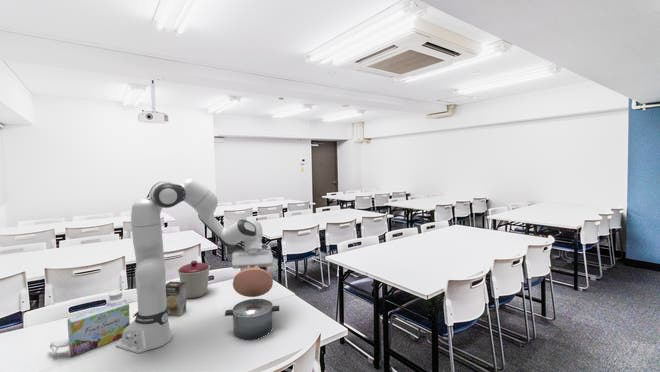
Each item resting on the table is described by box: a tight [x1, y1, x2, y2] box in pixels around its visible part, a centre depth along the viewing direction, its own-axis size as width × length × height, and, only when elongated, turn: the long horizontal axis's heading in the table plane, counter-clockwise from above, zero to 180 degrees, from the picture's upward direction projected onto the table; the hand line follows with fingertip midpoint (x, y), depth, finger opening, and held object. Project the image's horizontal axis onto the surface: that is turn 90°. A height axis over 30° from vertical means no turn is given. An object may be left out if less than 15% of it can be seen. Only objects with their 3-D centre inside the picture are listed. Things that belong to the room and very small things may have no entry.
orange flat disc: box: [232, 267, 274, 298], centre depth 152 cm, size 19×19×3 cm
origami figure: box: [49, 338, 71, 358], centre depth 129 cm, size 12×8×5 cm
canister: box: [177, 260, 211, 299], centre depth 187 cm, size 18×18×21 cm
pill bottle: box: [106, 290, 127, 307], centre depth 155 cm, size 8×8×15 cm
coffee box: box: [166, 281, 187, 317], centre depth 163 cm, size 9×6×16 cm
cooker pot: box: [224, 298, 280, 341], centre depth 147 cm, size 25×19×11 cm
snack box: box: [67, 301, 131, 357], centre depth 136 cm, size 21×6×15 cm, turn 143°
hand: (252, 275), depth 150 cm, fingers closed
